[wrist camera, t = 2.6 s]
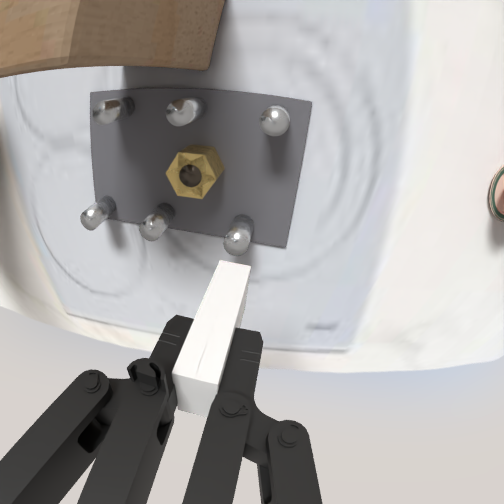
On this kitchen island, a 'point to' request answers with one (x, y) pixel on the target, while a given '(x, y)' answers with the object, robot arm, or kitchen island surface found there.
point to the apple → (497, 195)
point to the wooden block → (106, 34)
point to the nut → (195, 171)
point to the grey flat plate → (206, 134)
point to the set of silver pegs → (159, 219)
